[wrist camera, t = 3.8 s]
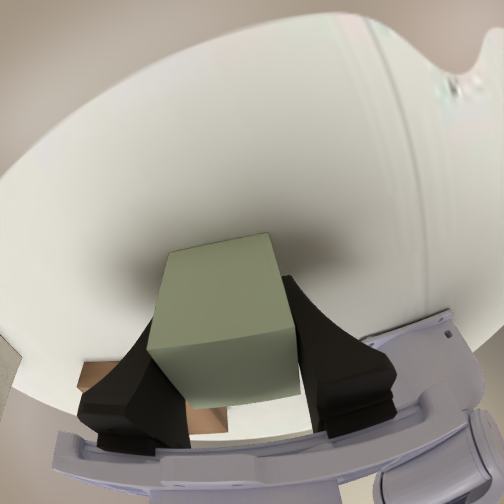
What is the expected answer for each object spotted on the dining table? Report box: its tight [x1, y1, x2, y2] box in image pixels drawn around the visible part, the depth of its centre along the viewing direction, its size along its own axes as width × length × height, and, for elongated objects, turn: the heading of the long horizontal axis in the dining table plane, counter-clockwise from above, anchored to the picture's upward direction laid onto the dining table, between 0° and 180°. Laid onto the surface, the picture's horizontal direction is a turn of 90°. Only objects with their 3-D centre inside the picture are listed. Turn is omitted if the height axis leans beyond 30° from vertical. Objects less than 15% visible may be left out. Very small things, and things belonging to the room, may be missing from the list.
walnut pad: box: [77, 361, 228, 435], centre depth 20 cm, size 10×10×3 cm
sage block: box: [147, 233, 301, 409], centre depth 12 cm, size 5×5×6 cm
